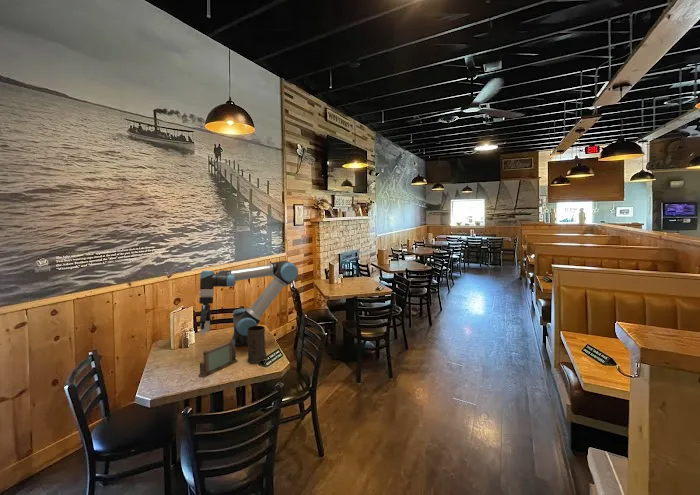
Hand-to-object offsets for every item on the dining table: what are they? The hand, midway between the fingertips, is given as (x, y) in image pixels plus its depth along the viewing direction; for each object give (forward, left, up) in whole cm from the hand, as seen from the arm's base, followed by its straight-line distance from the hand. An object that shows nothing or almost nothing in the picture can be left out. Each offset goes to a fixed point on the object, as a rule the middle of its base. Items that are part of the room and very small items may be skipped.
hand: (204, 333), depth 198 cm
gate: (-3, +15, -15) cm, 22 cm away
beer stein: (-25, +16, -17) cm, 34 cm away
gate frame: (-3, +15, -16) cm, 23 cm away
